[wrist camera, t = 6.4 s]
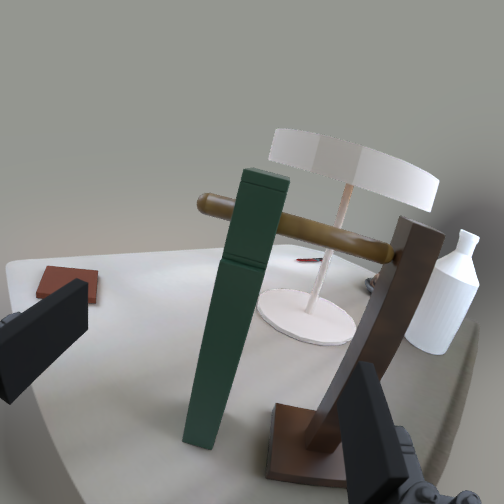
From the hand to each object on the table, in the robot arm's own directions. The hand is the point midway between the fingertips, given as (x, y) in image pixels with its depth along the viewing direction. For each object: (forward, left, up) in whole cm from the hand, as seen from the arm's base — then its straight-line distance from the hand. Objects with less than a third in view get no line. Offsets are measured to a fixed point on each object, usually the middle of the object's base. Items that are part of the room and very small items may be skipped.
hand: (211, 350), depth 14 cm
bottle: (+57, +18, -18) cm, 63 cm away
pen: (+54, +62, -18) cm, 84 cm away
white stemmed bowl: (+32, +31, -18) cm, 48 cm away
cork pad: (-11, +38, -18) cm, 43 cm away
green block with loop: (+5, +9, -18) cm, 21 cm away
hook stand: (+11, +6, -18) cm, 22 cm away
